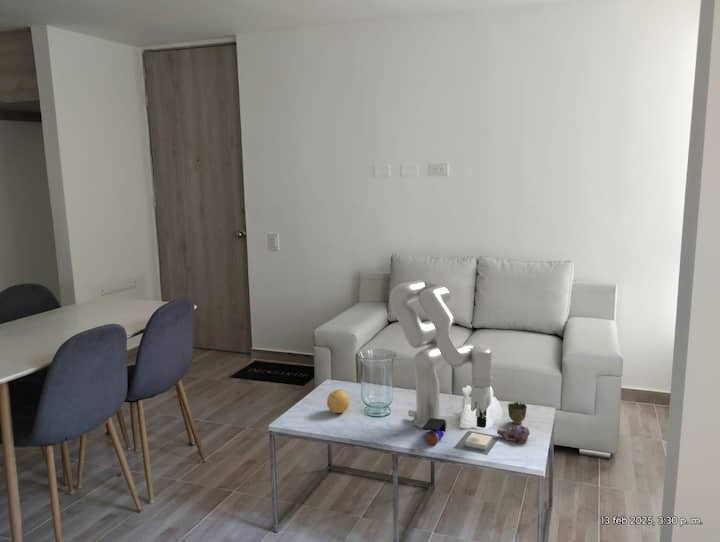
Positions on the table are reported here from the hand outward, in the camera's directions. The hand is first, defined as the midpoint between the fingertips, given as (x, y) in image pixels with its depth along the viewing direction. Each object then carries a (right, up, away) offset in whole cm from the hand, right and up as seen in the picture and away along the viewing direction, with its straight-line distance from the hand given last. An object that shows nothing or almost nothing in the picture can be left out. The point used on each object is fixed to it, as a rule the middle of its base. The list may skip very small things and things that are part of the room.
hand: (481, 426), depth 226 cm
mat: (-2, -6, 0) cm, 6 cm away
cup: (+18, -3, +16) cm, 24 cm away
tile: (+1, -5, +1) cm, 5 cm away
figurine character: (-17, -6, +5) cm, 19 cm away
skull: (+13, -6, +2) cm, 14 cm away
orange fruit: (-56, -3, +34) cm, 65 cm away
